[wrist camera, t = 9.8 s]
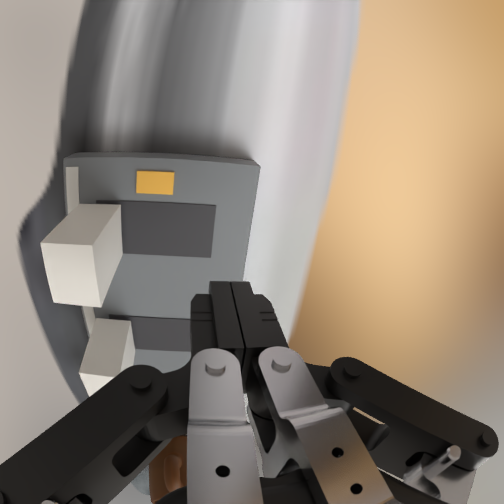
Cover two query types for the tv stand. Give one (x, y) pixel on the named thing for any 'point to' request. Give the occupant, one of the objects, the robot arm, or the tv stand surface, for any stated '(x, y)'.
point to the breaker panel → (166, 238)
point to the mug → (168, 469)
